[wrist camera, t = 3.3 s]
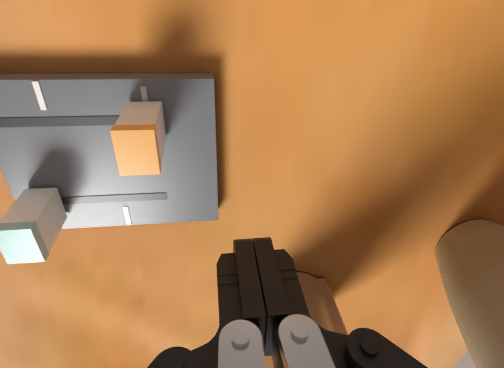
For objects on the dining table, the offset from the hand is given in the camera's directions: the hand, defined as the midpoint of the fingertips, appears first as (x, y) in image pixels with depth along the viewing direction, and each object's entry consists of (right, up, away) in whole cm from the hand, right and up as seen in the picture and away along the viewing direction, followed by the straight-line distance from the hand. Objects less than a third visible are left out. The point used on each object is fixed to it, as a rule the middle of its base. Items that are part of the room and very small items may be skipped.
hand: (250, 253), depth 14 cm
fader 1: (-17, +1, +14) cm, 22 cm away
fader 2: (-8, +8, +11) cm, 15 cm away
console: (-11, +5, +14) cm, 19 cm away
